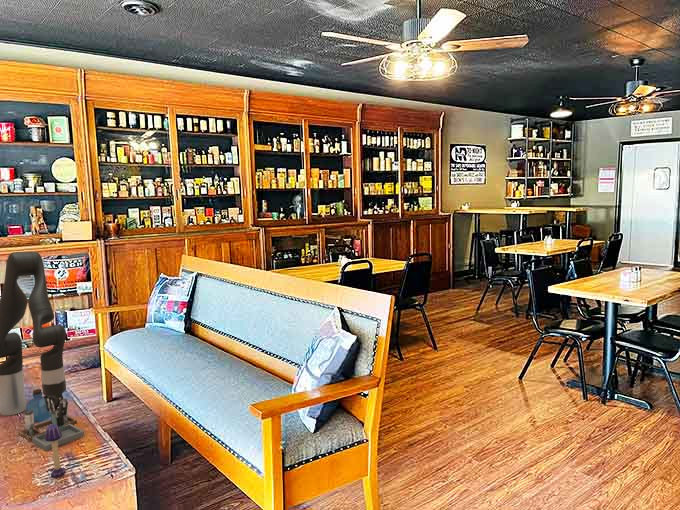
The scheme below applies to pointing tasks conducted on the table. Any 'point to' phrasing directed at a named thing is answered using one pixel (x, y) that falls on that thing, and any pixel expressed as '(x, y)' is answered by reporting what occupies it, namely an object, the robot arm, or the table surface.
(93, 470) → the table surface
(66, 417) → the canister
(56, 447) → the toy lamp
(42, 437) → the dish
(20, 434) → the rack
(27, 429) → the glass vial
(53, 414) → the cylinder
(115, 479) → the table surface
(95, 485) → the table surface
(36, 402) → the perfume bottle
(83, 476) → the table surface
